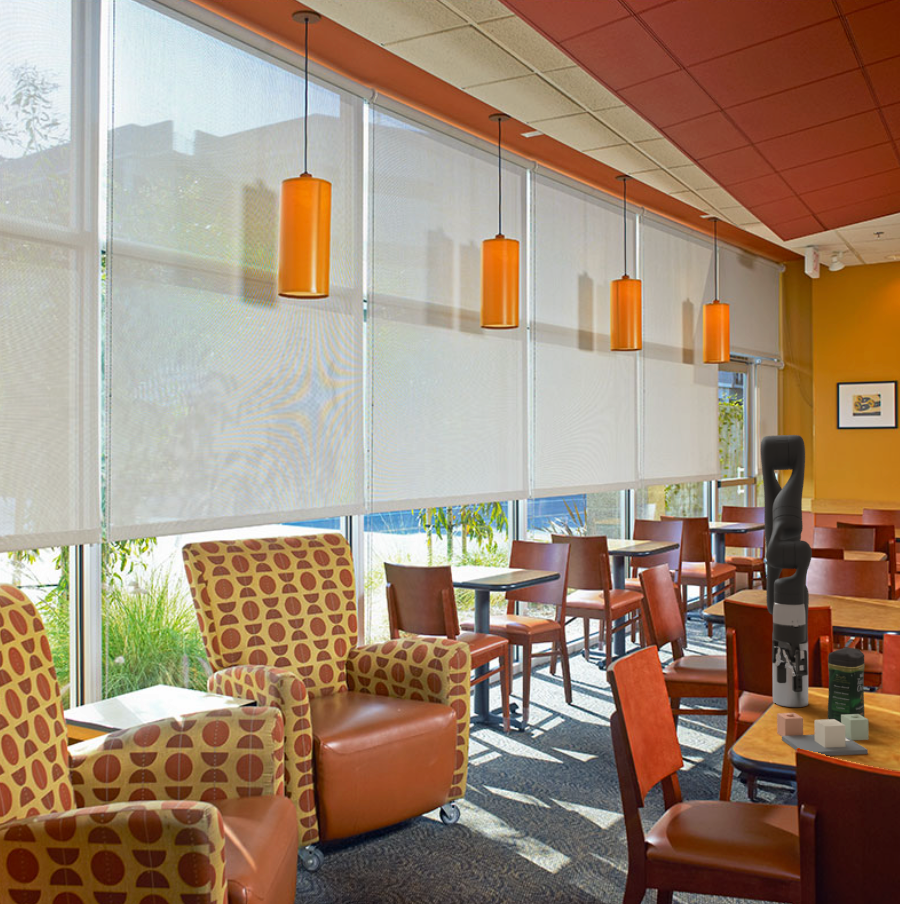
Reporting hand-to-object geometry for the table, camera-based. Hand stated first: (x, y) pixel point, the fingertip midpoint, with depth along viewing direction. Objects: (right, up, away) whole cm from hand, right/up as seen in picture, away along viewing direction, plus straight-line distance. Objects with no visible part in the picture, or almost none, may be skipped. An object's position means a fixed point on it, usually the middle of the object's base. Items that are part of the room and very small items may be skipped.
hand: (789, 687), depth 228 cm
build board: (+5, -12, -8) cm, 15 cm away
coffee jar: (+19, -12, +12) cm, 26 cm away
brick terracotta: (0, -12, 0) cm, 12 cm away
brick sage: (+15, -12, -1) cm, 20 cm away
